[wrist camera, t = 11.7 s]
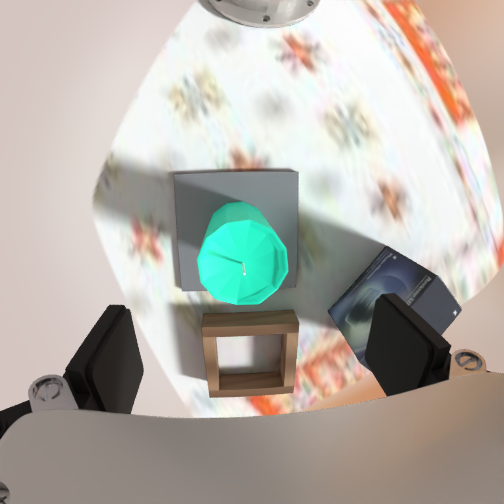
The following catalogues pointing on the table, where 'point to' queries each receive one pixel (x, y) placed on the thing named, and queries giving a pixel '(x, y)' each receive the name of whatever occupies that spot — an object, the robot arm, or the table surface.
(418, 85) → the table surface
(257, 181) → the slate mat
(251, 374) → the holder
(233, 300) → the candle
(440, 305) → the small box
